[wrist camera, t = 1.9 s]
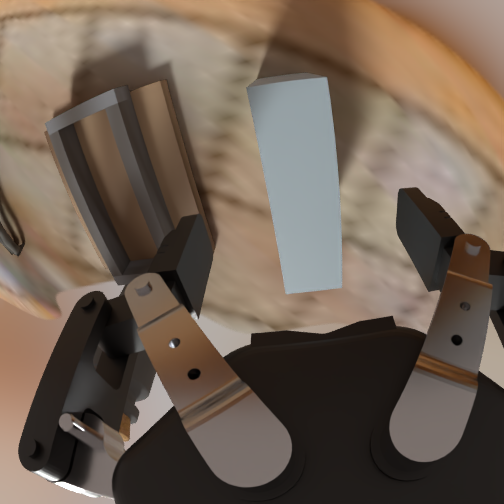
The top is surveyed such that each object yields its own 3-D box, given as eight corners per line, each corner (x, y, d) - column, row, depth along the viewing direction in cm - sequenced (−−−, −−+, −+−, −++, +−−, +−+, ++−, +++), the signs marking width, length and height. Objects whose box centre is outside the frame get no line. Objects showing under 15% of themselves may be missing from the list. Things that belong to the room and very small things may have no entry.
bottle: (139, 316, 31) (95, 436, 19) (115, 277, 28) (52, 405, 16) (185, 314, 30) (149, 449, 18) (164, 271, 27) (107, 420, 15)
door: (305, 72, 16) (326, 77, 10) (324, 216, 22) (341, 287, 16) (256, 79, 17) (246, 87, 10) (283, 221, 23) (285, 294, 17)
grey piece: (164, 73, 16) (146, 75, 14) (216, 252, 25) (210, 276, 22) (51, 122, 18) (26, 134, 16) (112, 265, 27) (98, 286, 24)
